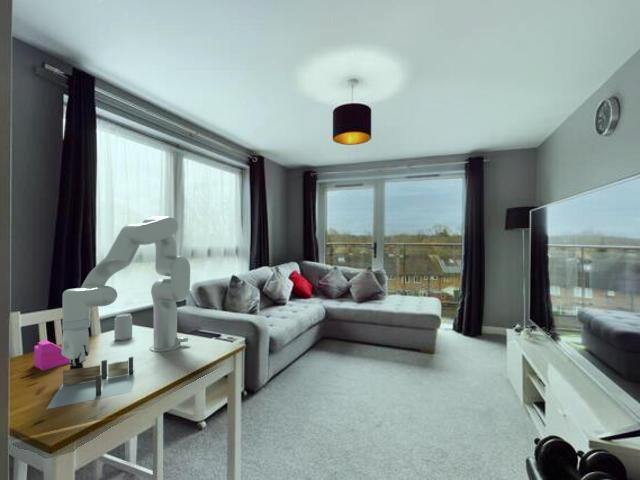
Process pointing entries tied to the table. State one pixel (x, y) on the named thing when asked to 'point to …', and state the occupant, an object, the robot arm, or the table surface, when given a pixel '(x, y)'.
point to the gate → (80, 375)
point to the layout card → (91, 390)
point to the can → (123, 326)
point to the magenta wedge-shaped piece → (48, 355)
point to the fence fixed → (113, 371)
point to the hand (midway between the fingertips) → (76, 375)
